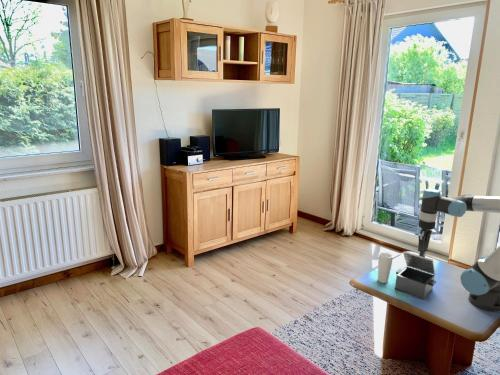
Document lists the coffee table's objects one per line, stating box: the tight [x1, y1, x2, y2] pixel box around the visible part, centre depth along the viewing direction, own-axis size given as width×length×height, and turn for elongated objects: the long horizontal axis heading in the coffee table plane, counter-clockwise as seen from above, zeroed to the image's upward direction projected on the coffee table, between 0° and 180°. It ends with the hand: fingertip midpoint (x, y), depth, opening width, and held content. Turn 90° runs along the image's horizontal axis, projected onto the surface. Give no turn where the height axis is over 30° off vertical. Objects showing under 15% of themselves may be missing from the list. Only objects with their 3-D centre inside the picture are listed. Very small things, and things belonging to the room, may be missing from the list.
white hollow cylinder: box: [377, 252, 394, 284], centre depth 193 cm, size 7×7×15 cm
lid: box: [402, 251, 436, 275], centre depth 186 cm, size 14×14×3 cm
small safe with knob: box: [394, 266, 437, 301], centre depth 186 cm, size 18×14×8 cm
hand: (420, 262), depth 189 cm, fingers closed
